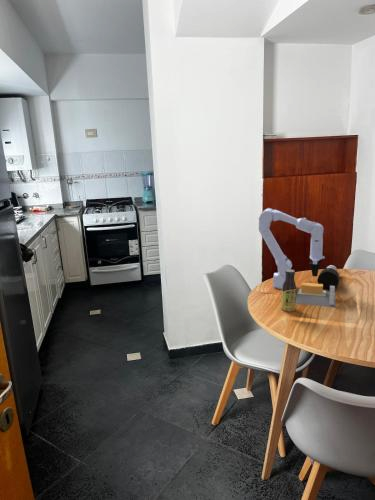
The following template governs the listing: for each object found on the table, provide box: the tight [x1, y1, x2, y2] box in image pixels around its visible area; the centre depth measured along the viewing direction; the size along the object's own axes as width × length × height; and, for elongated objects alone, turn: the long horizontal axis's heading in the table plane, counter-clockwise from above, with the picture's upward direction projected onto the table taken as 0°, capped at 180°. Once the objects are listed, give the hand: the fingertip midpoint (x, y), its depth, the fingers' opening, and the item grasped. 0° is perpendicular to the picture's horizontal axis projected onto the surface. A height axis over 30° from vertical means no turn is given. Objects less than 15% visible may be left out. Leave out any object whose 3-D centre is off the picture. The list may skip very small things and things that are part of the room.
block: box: [300, 282, 324, 294], centre depth 184 cm, size 10×4×4 cm, turn 69°
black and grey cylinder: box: [316, 264, 340, 291], centre depth 202 cm, size 10×34×10 cm, turn 156°
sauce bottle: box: [280, 268, 297, 313], centre depth 165 cm, size 6×6×20 cm
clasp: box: [329, 286, 336, 305], centre depth 171 cm, size 2×9×7 cm, turn 159°
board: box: [296, 288, 337, 308], centre depth 179 cm, size 18×20×2 cm
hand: (315, 273), depth 186 cm, fingers open, 7 cm apart
